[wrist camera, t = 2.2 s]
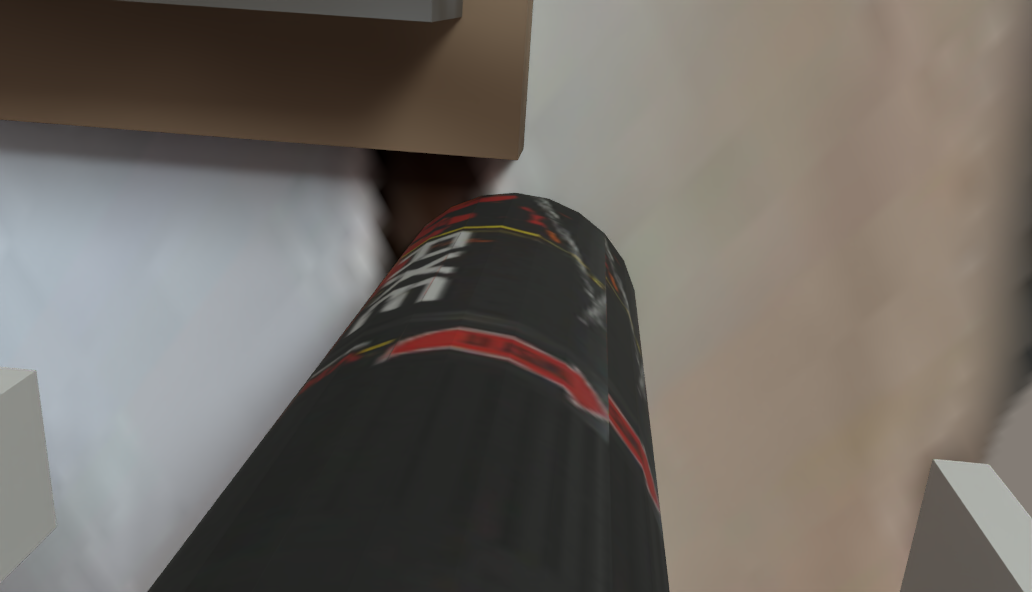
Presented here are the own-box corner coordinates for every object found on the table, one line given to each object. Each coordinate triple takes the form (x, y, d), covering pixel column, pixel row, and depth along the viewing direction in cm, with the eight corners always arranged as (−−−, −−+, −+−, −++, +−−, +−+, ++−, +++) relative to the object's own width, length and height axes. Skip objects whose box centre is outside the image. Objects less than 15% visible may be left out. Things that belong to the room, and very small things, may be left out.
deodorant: (516, 139, 20) (324, 476, 6) (688, 324, 21) (864, 981, 7) (341, 304, 22) (-130, 872, 8) (508, 468, 23) (362, 1232, 9)
